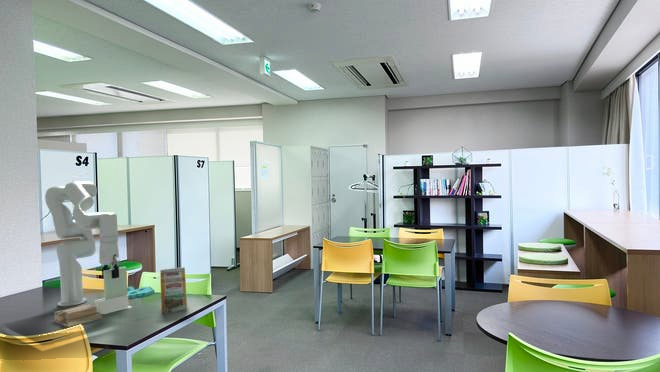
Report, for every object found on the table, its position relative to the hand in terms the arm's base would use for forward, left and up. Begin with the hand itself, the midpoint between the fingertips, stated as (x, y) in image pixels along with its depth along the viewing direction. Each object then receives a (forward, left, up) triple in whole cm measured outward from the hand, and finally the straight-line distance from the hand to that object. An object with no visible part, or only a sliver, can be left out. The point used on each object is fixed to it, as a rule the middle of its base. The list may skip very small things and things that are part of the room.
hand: (110, 277), depth 199 cm
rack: (+5, -16, -16) cm, 24 cm away
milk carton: (+24, +17, -16) cm, 34 cm away
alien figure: (-23, +23, -17) cm, 37 cm away
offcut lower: (+7, -16, -15) cm, 23 cm away
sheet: (0, +2, -15) cm, 15 cm away
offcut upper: (+7, -16, -12) cm, 21 cm away
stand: (+2, 0, -16) cm, 16 cm away
